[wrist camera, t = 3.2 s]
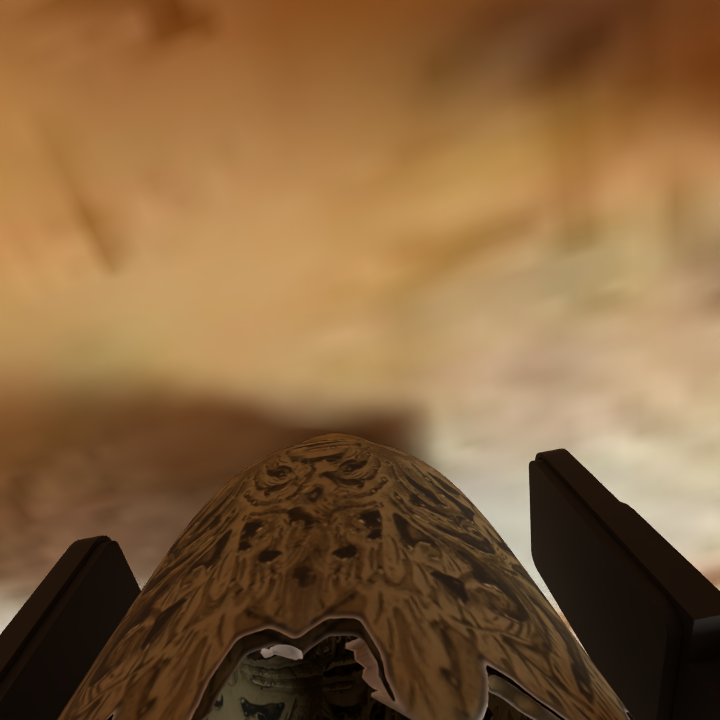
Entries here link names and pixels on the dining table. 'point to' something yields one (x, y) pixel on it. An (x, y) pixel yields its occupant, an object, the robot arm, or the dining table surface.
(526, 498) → the dining table surface
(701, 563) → the dining table surface
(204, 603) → the olive textured cup shape
